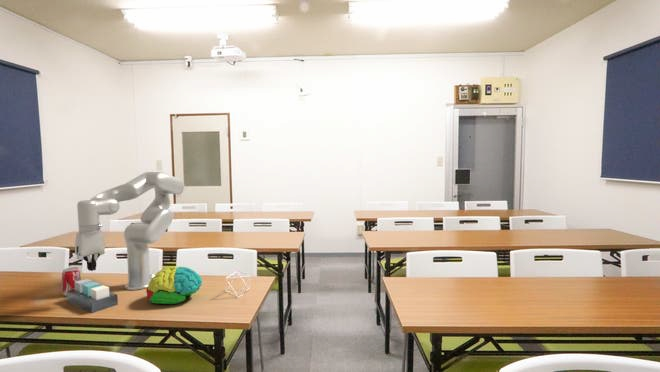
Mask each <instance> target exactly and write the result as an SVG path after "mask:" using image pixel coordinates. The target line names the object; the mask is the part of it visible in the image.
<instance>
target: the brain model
mask: <svg viewBox="0 0 660 372" xmlns="http://www.w3.org/2000/svg"><path fill="white" fill-rule="evenodd" d="M155 274H156V275H155ZM155 274H154V275H155V276H154V277H153V278H152V280H151V281H150V283H149V285H148V287H147V288H145V289H146V290H145V291H146V292H145V293H146V296H147V300H148V301H149V302H150V303H151V304H156V305H157V304H158V305H159V304H163V305H176V304H180V303H183V302H184V301H185V300H186V298H187V297H189V296H191V295H193V294H195V293H197V292H198V291H199V290H200V288H201V286H202V285H203V280H202V276H200V274H199V273H197V272H196V271H195V270H194V269H192V268H190V267H187V266H178V265H177V266H176V265H175V266H168V267H164V268H161V270H159V271H157V272H156V273H155Z"/></svg>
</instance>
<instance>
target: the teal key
mask: <svg viewBox="0 0 660 372" xmlns="http://www.w3.org/2000/svg"><path fill="white" fill-rule="evenodd" d="M99 286H102V285H101V283H100V282H97V281H92V282H91V283H87V284H83V285H82V289H83V295H84V296H87V297H88V296H91V289H92V288H95V287H99Z"/></svg>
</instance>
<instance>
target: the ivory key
mask: <svg viewBox="0 0 660 372" xmlns="http://www.w3.org/2000/svg"><path fill="white" fill-rule="evenodd" d="M109 291H110V287H109V286H106V285H101V286H99V287H95V288H92V289H91V299H94V300H98V299H101V298H105V297H108V296H109Z"/></svg>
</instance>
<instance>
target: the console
mask: <svg viewBox="0 0 660 372" xmlns="http://www.w3.org/2000/svg"><path fill="white" fill-rule="evenodd" d="M66 300H67V302H68V303H70V304H72V305H74V306H76V307H79V308H81V309H83V310H84V311H87V312H90V313H91V314H93V313H97V312H99V311H103V310H105V309H109V308H111V307H115V306H118V304H119V303H118V301H119V300H118V293H115V292H112V291H110V290H109V296H108V297H105V298H101V299H98V300H94V299H91V296H88V297H87V296H84V295H83V292H82V293H77V292H75V289H74V290H70V291H67V296H66Z"/></svg>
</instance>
